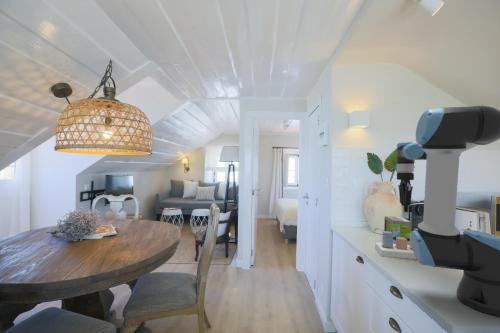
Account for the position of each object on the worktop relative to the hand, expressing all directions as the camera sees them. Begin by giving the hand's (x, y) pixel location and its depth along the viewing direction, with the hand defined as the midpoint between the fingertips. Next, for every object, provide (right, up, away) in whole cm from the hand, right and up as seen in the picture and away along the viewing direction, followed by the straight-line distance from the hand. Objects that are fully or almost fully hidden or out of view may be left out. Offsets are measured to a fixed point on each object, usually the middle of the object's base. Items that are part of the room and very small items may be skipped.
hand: (405, 218), depth 125 cm
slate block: (-7, -15, +4) cm, 17 cm away
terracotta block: (0, -18, +2) cm, 18 cm away
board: (0, -19, +2) cm, 19 cm away
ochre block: (+6, -16, +1) cm, 17 cm away
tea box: (+9, -20, +22) cm, 31 cm away
